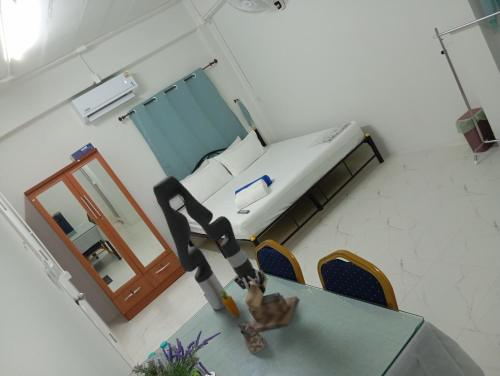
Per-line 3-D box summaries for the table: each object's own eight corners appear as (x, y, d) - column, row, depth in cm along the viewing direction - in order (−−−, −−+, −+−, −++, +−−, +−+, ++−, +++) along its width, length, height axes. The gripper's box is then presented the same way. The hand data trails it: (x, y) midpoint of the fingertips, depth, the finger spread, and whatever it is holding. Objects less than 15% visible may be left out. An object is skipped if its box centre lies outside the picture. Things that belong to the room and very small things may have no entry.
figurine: (260, 353, 173) (245, 329, 170) (246, 353, 177) (231, 330, 174) (268, 339, 178) (253, 316, 175) (254, 340, 183) (240, 317, 180)
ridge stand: (248, 333, 190) (236, 315, 187) (259, 307, 203) (249, 290, 201) (288, 324, 180) (276, 305, 178) (298, 298, 193) (287, 280, 191)
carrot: (241, 318, 203) (225, 292, 199) (232, 322, 205) (215, 296, 201) (243, 311, 208) (227, 286, 204) (234, 315, 209) (218, 290, 205)
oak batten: (251, 310, 180) (245, 301, 179) (260, 282, 198) (254, 273, 197) (259, 307, 179) (253, 298, 178) (267, 279, 197) (262, 270, 195)
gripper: (256, 251, 184) (276, 283, 188) (228, 260, 191) (248, 291, 195) (250, 262, 178) (270, 295, 182) (222, 270, 185) (242, 302, 189)
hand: (259, 293), depth 188 cm, fingers closed on oak batten, 4 cm apart
